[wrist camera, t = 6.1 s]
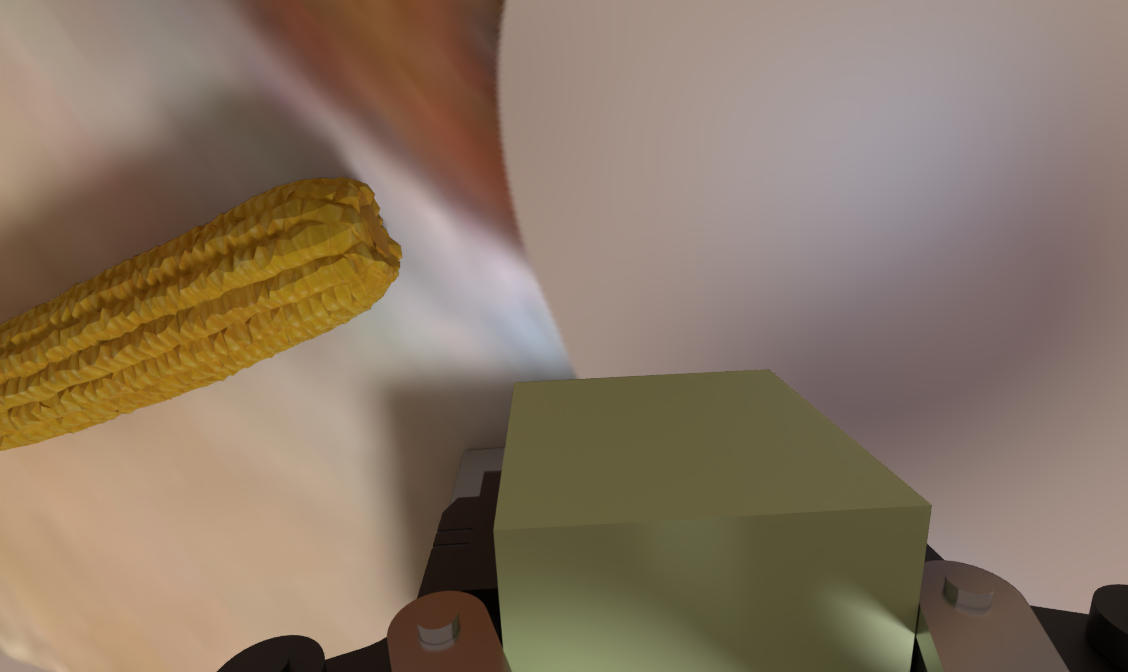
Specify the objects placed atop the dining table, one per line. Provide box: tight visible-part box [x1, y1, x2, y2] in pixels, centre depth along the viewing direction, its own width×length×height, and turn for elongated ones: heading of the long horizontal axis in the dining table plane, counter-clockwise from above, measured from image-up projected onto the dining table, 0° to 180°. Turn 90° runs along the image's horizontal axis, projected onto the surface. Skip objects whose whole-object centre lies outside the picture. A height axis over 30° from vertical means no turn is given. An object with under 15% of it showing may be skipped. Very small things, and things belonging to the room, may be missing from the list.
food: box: [0, 177, 402, 451], centre depth 23 cm, size 21×6×6 cm, turn 114°
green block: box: [493, 369, 932, 672], centre depth 10 cm, size 5×5×5 cm
